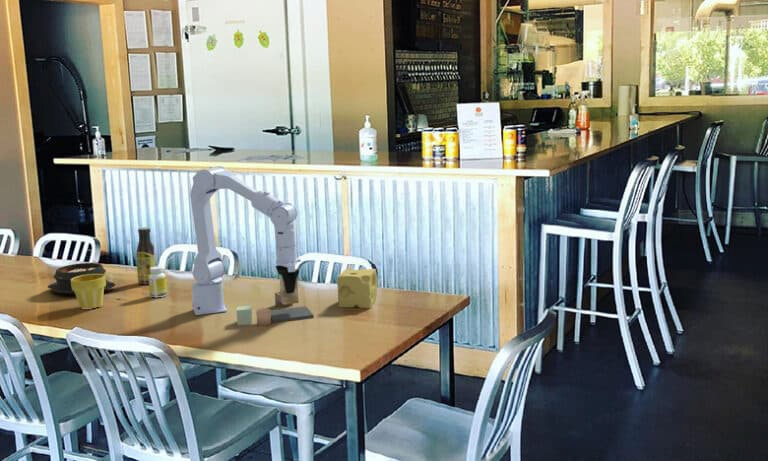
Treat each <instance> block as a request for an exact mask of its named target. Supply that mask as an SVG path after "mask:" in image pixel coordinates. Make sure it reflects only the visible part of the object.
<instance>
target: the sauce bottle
mask: <svg viewBox="0 0 768 461" xmlns="http://www.w3.org/2000/svg"><path fill="white" fill-rule="evenodd" d="M137 229H138V230H137V233H138V237H139V239H138V240H139V241H138V245H137V249H136V255H135V256H136V269H137V271H136V273H137V281H138V284H139V285H143V284H144V285H149V275H150V274H151V273H150V268H151V267H156V254H155V246H154V244H153V243H152V241H151V228H150V227H146V226H145V227H140V228H137Z"/></svg>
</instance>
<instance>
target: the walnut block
mask: <svg viewBox="0 0 768 461" xmlns="http://www.w3.org/2000/svg"><path fill="white" fill-rule="evenodd" d="M274 302H275V303H274V304H275V306H276V307H278V308H280V309H284V308H288V307H293V305H294V304H284V305H283V303H282V302H281V298H280V291H278V292H277V291H276V292H274Z"/></svg>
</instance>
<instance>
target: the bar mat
mask: <svg viewBox="0 0 768 461" xmlns="http://www.w3.org/2000/svg"><path fill="white" fill-rule="evenodd" d="M270 312H271V323H272V324H273V323H280V322H287V321H288V322H289V321H290V322H291V321H297V320H303V319H311V318H312V319H313V318H314V314H313V313H312V311H311V310H310V309H309V308H308V306H305V305H304V306H299V307H298V306H297V307H290V308H288V307H287V308H280V309H272V310H271V309H270Z"/></svg>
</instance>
